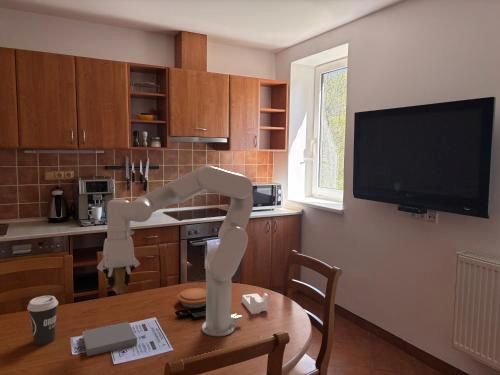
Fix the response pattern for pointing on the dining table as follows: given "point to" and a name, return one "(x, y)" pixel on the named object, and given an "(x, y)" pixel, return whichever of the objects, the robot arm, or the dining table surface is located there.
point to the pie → (193, 297)
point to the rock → (119, 280)
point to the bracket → (255, 303)
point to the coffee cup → (43, 319)
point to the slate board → (108, 338)
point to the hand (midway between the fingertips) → (118, 284)
